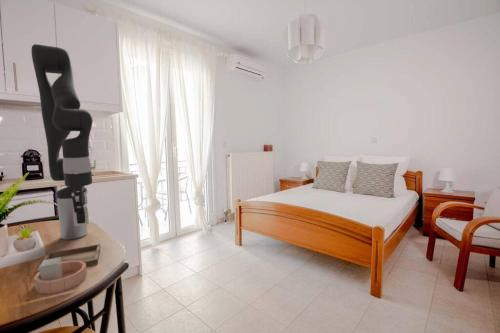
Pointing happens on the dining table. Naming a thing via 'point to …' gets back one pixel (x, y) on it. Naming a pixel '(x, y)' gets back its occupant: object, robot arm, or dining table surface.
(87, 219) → the white rectangular block
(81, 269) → the bowl
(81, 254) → the tray
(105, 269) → the dining table surface
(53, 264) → the light grey block
